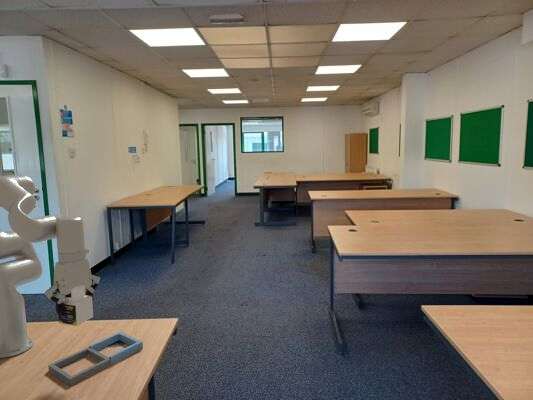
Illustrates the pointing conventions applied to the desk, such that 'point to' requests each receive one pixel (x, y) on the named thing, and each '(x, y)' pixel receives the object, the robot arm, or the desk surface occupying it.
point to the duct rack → (95, 357)
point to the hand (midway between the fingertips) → (75, 309)
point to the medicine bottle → (76, 307)
